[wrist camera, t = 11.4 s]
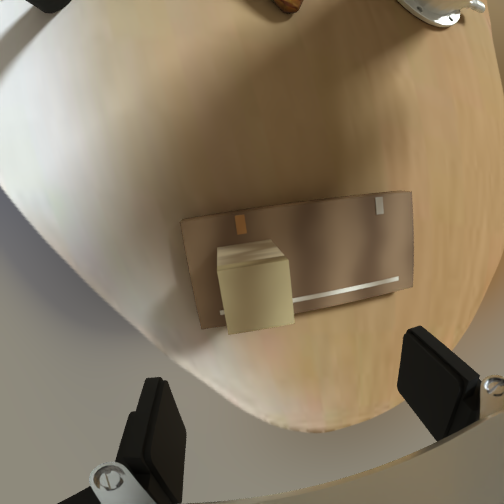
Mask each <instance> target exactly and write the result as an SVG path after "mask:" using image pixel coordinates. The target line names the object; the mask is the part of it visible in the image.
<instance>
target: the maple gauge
mask: <svg viewBox="0 0 504 504" xmlns="http://www.w3.org/2000/svg"><path fill="white" fill-rule="evenodd" d="M217 274H218V279H219V285H220V291H221V296H222V302H223V307H224V313H225V318H226V323H227V329H228V334H229V335H231V334H237V333H244V332H250V331H256V330H262V329H267V328H273V327H278V326H284V325H289V324H294V323H295V321H294V310H293V299H292V289H291V279H290V269H289V260H288V259H287V258H286V256H285V255H284V254H283V253H282V252H281V251H280V250H279V248H278V247H277V246H276V245H275V244H274V243H273V242H272V240H271V239H270V240H263V241H257V242H250V243H244V244H237V245H231V246H224V247H218V248H217Z"/></svg>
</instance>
